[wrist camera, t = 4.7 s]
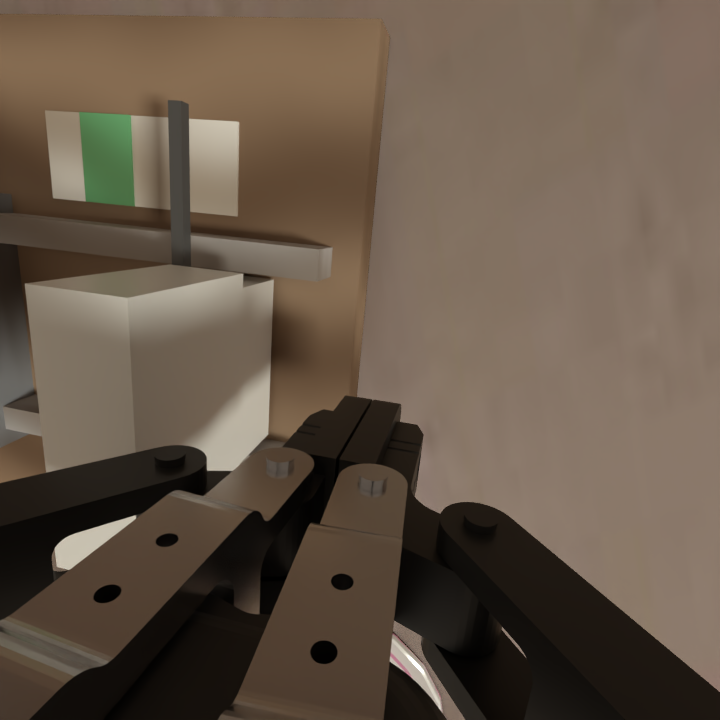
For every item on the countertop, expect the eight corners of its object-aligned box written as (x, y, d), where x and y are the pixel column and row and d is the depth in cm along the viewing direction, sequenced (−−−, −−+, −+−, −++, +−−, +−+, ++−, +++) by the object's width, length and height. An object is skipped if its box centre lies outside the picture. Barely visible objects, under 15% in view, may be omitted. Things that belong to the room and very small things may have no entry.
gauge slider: (167, 117, 16) (-85, 29, 9) (285, 123, 15) (113, 32, 8) (175, 428, 20) (-4, 550, 12) (272, 447, 19) (142, 589, 11)
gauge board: (-58, 28, 19) (-370, -88, 12) (390, 37, 16) (320, -117, 9) (10, 508, 25) (-167, 617, 18) (338, 589, 22) (274, 762, 15)
